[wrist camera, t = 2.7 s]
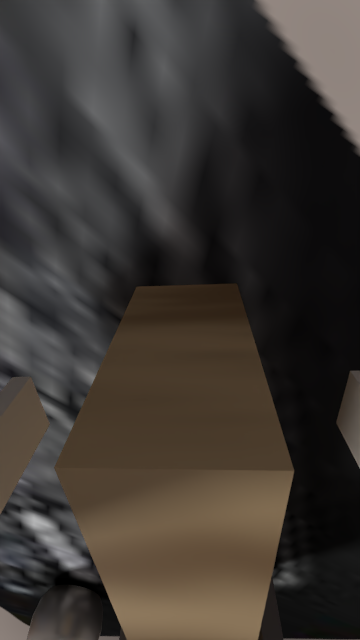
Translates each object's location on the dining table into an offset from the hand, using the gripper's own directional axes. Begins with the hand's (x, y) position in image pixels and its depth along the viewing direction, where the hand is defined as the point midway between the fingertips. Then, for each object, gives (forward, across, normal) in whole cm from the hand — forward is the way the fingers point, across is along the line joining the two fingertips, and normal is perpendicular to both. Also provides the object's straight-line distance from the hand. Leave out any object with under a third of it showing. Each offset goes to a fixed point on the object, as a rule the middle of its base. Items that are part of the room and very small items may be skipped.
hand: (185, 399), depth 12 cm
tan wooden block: (+4, 0, -6) cm, 7 cm away
